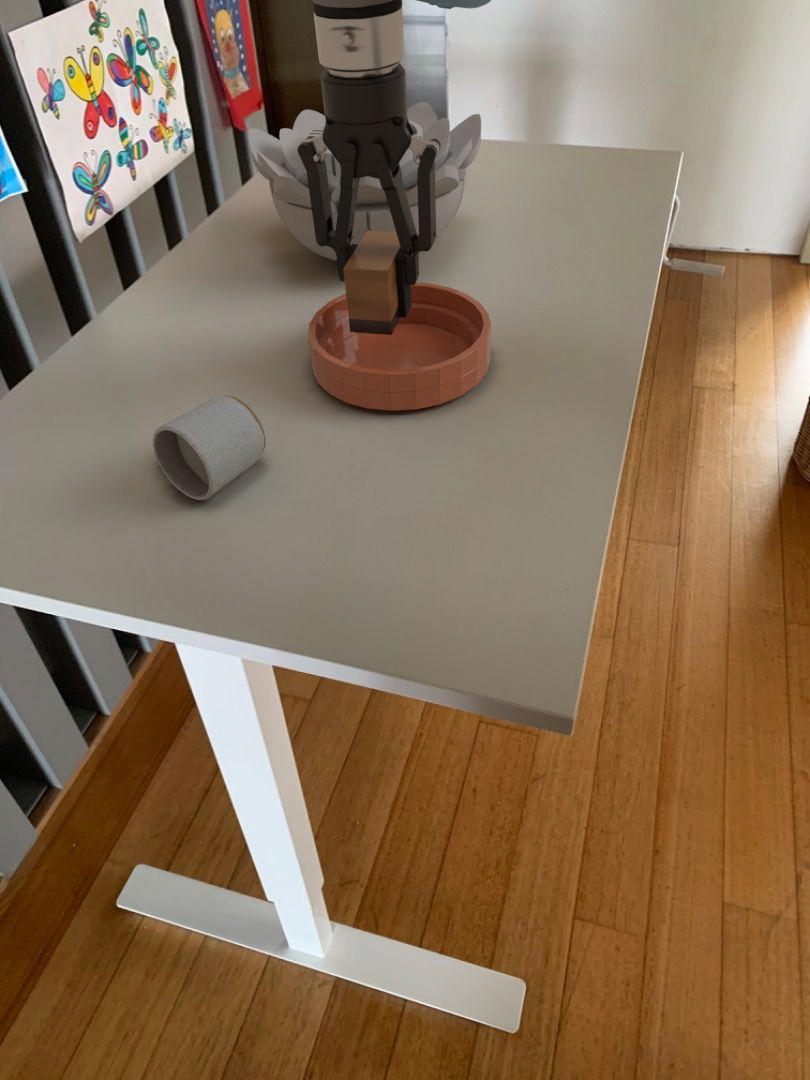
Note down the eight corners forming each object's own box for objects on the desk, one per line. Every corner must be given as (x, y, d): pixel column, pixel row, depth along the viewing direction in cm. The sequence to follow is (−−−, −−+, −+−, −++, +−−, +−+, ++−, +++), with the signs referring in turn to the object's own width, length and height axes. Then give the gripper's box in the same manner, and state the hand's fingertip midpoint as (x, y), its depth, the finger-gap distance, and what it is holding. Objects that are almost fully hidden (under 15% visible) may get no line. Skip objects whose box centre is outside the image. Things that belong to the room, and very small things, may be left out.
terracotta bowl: (501, 327, 99) (503, 287, 96) (472, 423, 85) (473, 381, 82) (342, 315, 103) (338, 276, 100) (289, 405, 89) (283, 364, 86)
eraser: (372, 291, 94) (366, 230, 89) (411, 294, 93) (408, 232, 88) (349, 332, 87) (343, 268, 83) (392, 335, 86) (387, 270, 82)
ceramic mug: (277, 465, 82) (263, 398, 77) (218, 512, 77) (199, 444, 72) (200, 433, 87) (182, 367, 81) (140, 475, 82) (117, 409, 77)
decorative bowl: (305, 197, 131) (292, 91, 120) (493, 210, 124) (496, 99, 114) (222, 287, 110) (197, 169, 100) (443, 309, 103) (441, 184, 93)
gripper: (253, 77, 73) (292, 321, 89) (452, 78, 70) (456, 332, 85) (282, 54, 78) (314, 288, 94) (468, 54, 75) (469, 298, 91)
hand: (381, 309), depth 90 cm, fingers closed on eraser, 4 cm apart
